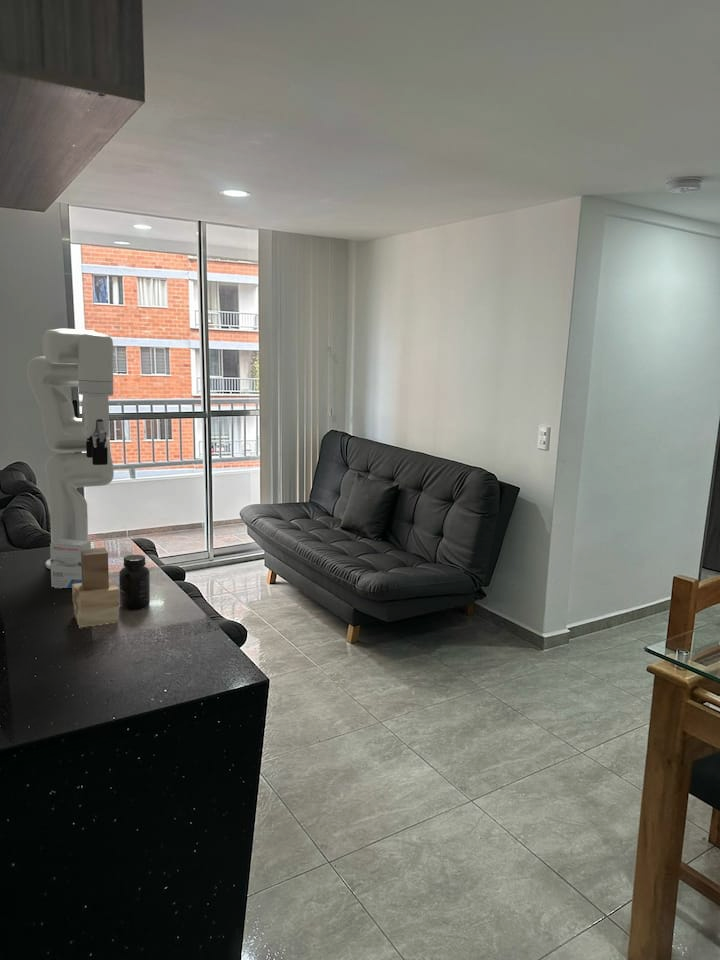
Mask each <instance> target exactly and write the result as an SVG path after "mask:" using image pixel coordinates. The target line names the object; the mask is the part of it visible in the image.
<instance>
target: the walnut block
mask: <svg viewBox="0 0 720 960" xmlns="http://www.w3.org/2000/svg"><path fill="white" fill-rule="evenodd" d="M81 569H82V585H83V588H84V591H88V590H96V589H104V588H109V579H110V577H109V552H108V550H107V549H106V547H105V546H104V547H91V549H81Z"/></svg>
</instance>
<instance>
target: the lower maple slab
mask: <svg viewBox="0 0 720 960" xmlns="http://www.w3.org/2000/svg"><path fill="white" fill-rule="evenodd" d="M73 612H74V613H73V614H74V615H75V616H74V615H73V616H74V619H75V618H76V619H75V621H76V620H77V621H76V623H77V625H79V626H78V628H79V629H81V628H80V627H86V626H92V627H95V626H94V625H99V626H101V625H100V624H105V625H107V624H106V623H112V624H114V623H113V622H118V623H119V606H118V607H112V608H106V609H100V610H94V611H88V612H82V613H81V612H80V610H79V609H78V608H77V606H76V605H75V604H74V603H73ZM86 628H87V627H86Z"/></svg>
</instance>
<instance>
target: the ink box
mask: <svg viewBox="0 0 720 960" xmlns="http://www.w3.org/2000/svg"><path fill="white" fill-rule="evenodd" d="M91 543H92V542H91V541H90V540H88V541H81V540H68V539H59V540H57V541H54V542H52V543H51V542H50V543H49V550H50V551H49V554H50V558H49V559H51V569H50V582H51V585H50V586H51V587H50V588H52V587H54V588H53V589H62V588H72V584H77V583H82V569H81V549H91V548H92V545H91Z"/></svg>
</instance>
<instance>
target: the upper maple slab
mask: <svg viewBox="0 0 720 960" xmlns="http://www.w3.org/2000/svg"><path fill="white" fill-rule="evenodd" d="M71 590H72V592H71V594H72V595H71V596H72V603H73V605H74V604H75V605H76V606H77V608H78V609H79V610H80V612H81V613H82V612H88V611H94V610H100V609H106V608H112V607H118V608H119V607H120V600H119V587H118V586H117V585H116V584H115V582H113V581H112V580H111V579H110V578H109V588H104V589H96V590H88V591H84V588H83V585H82V583H77V584H72V589H71Z"/></svg>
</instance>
